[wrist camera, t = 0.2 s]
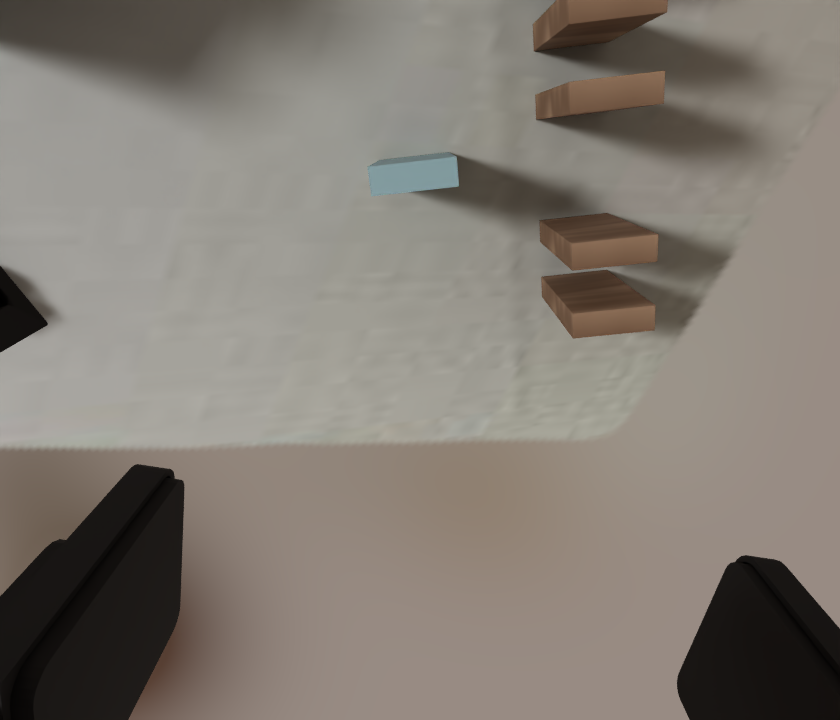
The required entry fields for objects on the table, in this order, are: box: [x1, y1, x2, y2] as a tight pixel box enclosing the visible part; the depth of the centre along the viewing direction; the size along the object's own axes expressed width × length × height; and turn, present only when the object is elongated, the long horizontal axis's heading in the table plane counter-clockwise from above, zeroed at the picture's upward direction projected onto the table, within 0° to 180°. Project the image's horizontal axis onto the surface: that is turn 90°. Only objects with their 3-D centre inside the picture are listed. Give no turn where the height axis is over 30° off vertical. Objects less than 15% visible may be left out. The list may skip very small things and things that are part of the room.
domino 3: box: [535, 71, 665, 120], centre depth 35 cm, size 2×5×10 cm, turn 96°
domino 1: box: [368, 152, 459, 196], centre depth 37 cm, size 2×5×10 cm, turn 96°
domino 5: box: [541, 270, 655, 338], centre depth 40 cm, size 2×5×10 cm, turn 96°
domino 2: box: [533, 0, 668, 51], centre depth 34 cm, size 2×5×10 cm, turn 96°
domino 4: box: [540, 213, 658, 271], centre depth 39 cm, size 2×5×10 cm, turn 96°
